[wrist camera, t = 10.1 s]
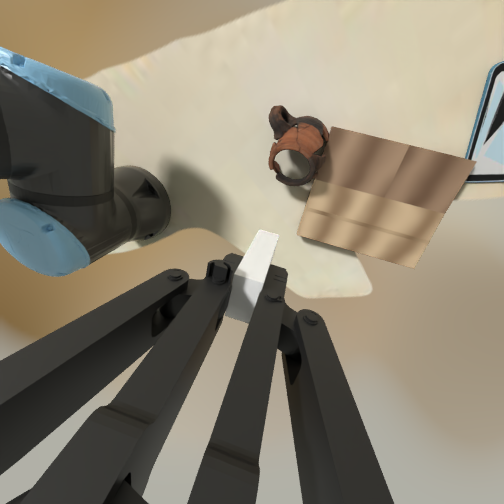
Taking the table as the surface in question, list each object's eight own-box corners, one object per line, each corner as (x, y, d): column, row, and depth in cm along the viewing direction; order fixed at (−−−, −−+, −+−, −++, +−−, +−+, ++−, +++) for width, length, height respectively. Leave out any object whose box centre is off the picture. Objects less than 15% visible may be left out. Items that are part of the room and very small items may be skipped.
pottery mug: (344, 145, 39) (333, 175, 35) (298, 171, 46) (285, 199, 42) (300, 77, 34) (282, 103, 30) (257, 118, 41) (237, 143, 37)
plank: (296, 232, 46) (296, 234, 44) (314, 178, 42) (314, 179, 40) (410, 265, 44) (414, 269, 42) (439, 211, 40) (444, 213, 38)
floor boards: (314, 177, 42) (314, 179, 40) (331, 126, 38) (332, 126, 37) (440, 211, 40) (444, 213, 38) (470, 160, 36) (477, 161, 35)
